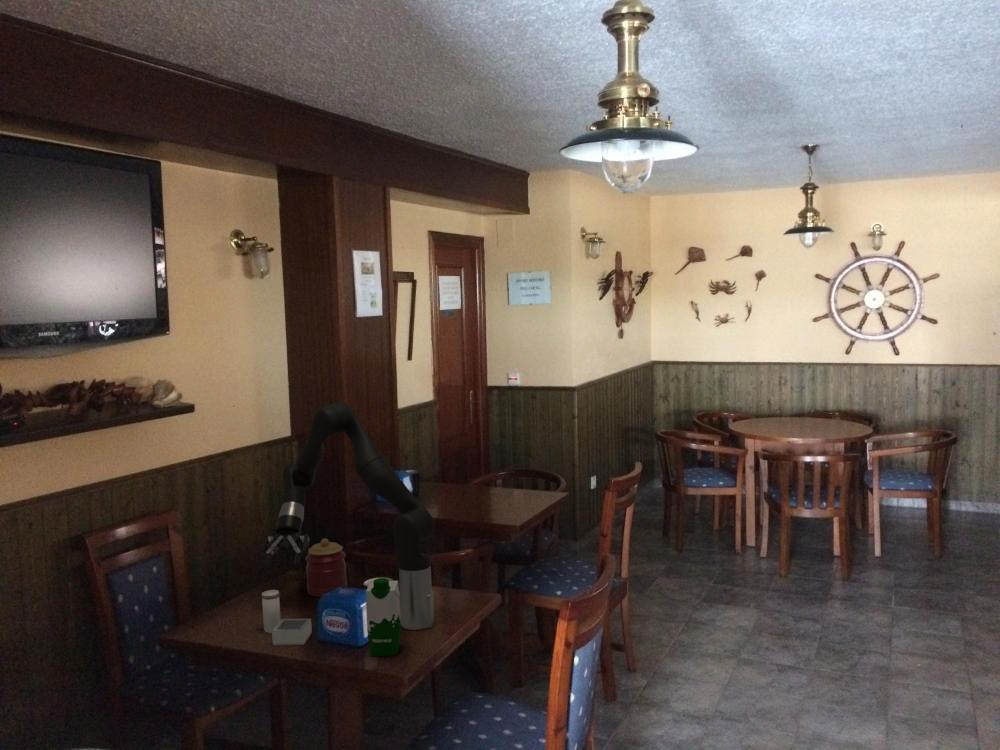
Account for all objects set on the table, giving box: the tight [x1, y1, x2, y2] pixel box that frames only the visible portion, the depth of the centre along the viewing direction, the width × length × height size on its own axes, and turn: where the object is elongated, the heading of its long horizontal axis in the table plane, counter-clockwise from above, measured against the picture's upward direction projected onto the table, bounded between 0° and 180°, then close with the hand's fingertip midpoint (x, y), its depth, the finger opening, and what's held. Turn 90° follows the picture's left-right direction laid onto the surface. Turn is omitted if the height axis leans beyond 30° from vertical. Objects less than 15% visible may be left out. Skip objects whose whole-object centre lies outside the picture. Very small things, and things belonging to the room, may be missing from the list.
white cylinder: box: [261, 589, 282, 634], centre depth 240 cm, size 5×5×11 cm
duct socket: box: [271, 618, 313, 646], centre depth 233 cm, size 9×9×4 cm
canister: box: [304, 538, 348, 598], centre depth 272 cm, size 13×13×18 cm
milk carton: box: [365, 577, 402, 657], centre depth 222 cm, size 9×9×20 cm
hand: (281, 566), depth 251 cm, fingers open, 8 cm apart
